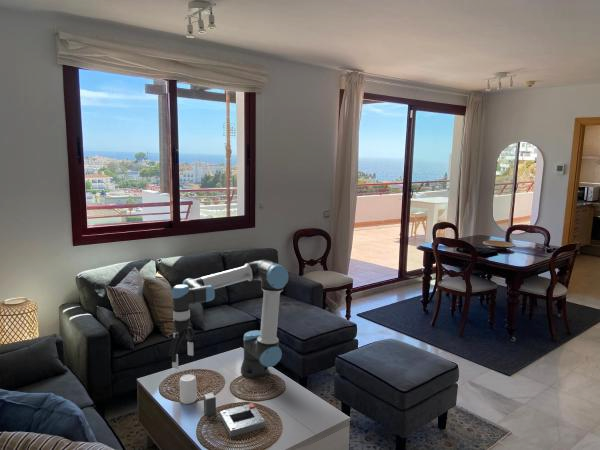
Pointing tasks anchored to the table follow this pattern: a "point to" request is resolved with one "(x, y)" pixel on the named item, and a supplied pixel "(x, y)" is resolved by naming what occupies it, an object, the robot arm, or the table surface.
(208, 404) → the plug
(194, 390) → the white upside-down cup
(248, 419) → the socket
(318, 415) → the table surface
